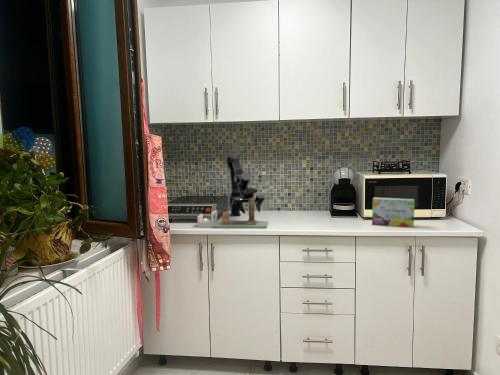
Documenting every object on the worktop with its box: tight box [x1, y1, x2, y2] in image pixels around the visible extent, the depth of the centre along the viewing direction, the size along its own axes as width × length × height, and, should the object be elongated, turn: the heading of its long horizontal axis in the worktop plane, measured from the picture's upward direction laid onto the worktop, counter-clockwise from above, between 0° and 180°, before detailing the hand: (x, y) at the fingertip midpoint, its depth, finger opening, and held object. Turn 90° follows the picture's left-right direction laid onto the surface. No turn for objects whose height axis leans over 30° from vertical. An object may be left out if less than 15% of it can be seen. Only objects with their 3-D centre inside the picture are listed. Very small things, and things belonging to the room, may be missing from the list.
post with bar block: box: [221, 197, 258, 224], centre depth 207 cm, size 5×20×14 cm, turn 83°
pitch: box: [196, 209, 269, 229], centre depth 208 cm, size 14×39×8 cm, turn 83°
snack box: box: [371, 196, 415, 228], centre depth 199 cm, size 21×6×15 cm, turn 66°
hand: (252, 212), depth 205 cm, fingers open, 9 cm apart
